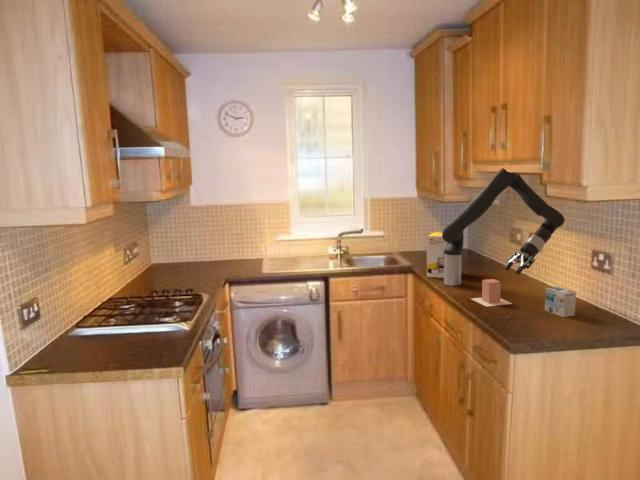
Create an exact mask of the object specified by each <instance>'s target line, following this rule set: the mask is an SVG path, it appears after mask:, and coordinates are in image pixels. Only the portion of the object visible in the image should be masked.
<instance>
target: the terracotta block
mask: <svg viewBox="0 0 640 480" xmlns="http://www.w3.org/2000/svg"><path fill="white" fill-rule="evenodd" d="M481 281H482V285H481V290H482V291H481V297H482V300H483V301H485V302H487V303H496V302H500V298H501V290H502V289H501V287H502V286H501V285H502V284H501V283H502V282H501V281H499V280H497V279H494V278H491V279H490V278H489V279H488V278H487V279H482V280H481Z"/></svg>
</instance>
